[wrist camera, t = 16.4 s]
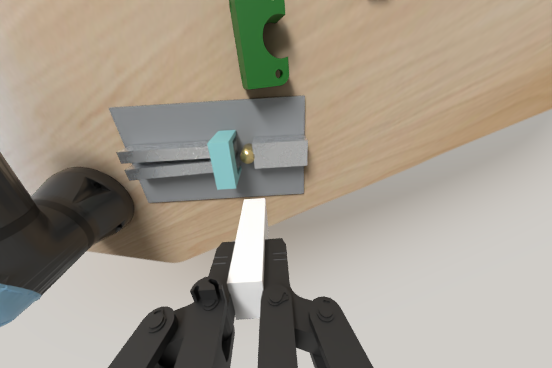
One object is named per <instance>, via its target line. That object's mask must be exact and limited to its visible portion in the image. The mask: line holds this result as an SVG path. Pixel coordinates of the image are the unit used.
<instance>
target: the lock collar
mask: <svg viewBox="0 0 552 368" xmlns="http://www.w3.org/2000/svg"><path fill="white" fill-rule="evenodd" d="M235 136H236V130H223V131H218V132H217V133H216V134H215V135H214V136H213V137H212V138H211V139H210V141H209V142H208V143H207V145H208V150H209V154H210V159H211V163H212V168H213V172H214V177H215V181H216V186H217V190H220V189H236V187H237V184H238V180H239V177H240V174H241V170H242V169H241V166H239V168H238V170H237V167H236V160H235V154H234V148H233V142H232V141H233V139H234V138H235Z"/></svg>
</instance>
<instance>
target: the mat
mask: <svg viewBox="0 0 552 368" xmlns="http://www.w3.org/2000/svg"><path fill="white" fill-rule="evenodd" d="M109 110H110V112H111V115H112V117H113V120H114V122H115V124H116V127H117V129H118V131H119V134H120V136H121V139H122V141H123V143H124V146H125V147H127V146H129V145H145V144H162V143H178V142H194V141H210V139H211V138H212V137H213V136H214V135H215V134H216V133H217V132H218V131H223V130H236V136H235V138H234V139H237V145H238V151H237V152H239V157H240V155H241V152H242V149H243V147H244V145H245V144H248V143H250V144H252V142H253V138H259V137H275V136H291V135H304V115H305V96H289V97H273V98H257V99H240V100H224V101H208V102H192V103H176V104H160V105H144V106H128V107H112V108H109ZM133 164H134V163H132V165H133ZM239 166H241V169H242V170H241V174H240V177H239V180H238V184H237V187H236V189H220V190H217V186H216V181H215V177H214V172H213V173H203V174H192V175H182V176H171V177H161V178H150V179H140V180H139V181H140V184H141V186H142V188H143V191H144V193H145V196H146V198H147V200H148V203H153V202H170V201H186V200H203V199H219V198H236V197H253V196H269V195H286V194H302V193H304V166H291V167H275V168H259V169H255V166H254V161H253V162H252V163H250V164H246V163H244V162H242V160H241V159H240V165H239Z"/></svg>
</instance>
